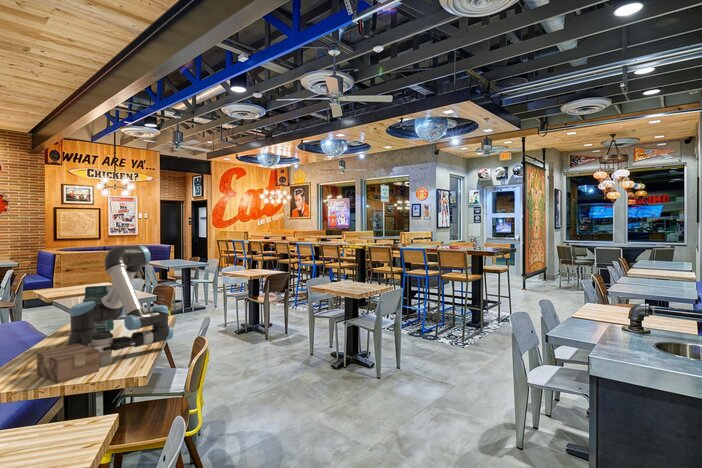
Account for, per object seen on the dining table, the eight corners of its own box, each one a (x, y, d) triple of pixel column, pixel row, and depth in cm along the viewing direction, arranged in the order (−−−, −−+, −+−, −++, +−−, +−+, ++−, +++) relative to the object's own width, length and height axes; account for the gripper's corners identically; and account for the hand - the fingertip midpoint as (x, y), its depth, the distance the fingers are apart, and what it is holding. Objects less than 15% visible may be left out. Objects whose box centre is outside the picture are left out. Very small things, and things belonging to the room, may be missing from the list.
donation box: (113, 326, 257) (113, 285, 257) (113, 331, 243) (112, 288, 243) (85, 329, 249) (84, 286, 249) (82, 334, 235) (82, 289, 235)
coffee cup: (96, 367, 178) (96, 335, 178) (87, 363, 183) (87, 332, 183) (117, 361, 186) (116, 331, 186) (107, 358, 191) (107, 328, 190)
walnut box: (35, 375, 169) (35, 352, 169) (77, 363, 183) (77, 343, 183) (57, 384, 159) (57, 360, 158) (99, 371, 173) (99, 349, 173)
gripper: (150, 349, 191) (98, 361, 174) (133, 341, 205) (84, 351, 188) (150, 334, 191) (98, 345, 174) (133, 328, 205) (84, 336, 188)
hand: (91, 348), depth 181 cm, fingers closed on coffee cup, 9 cm apart
